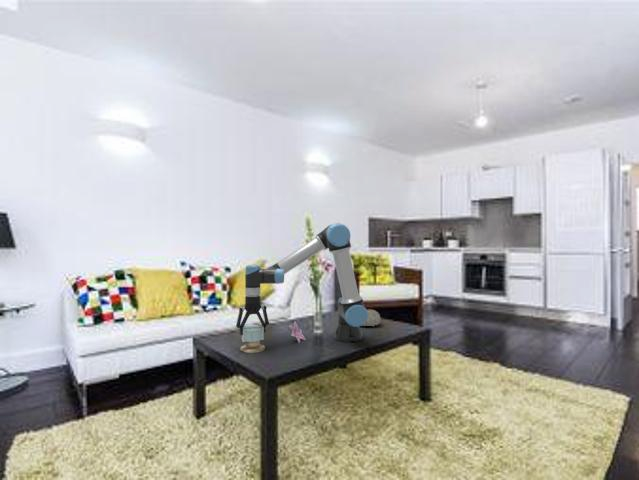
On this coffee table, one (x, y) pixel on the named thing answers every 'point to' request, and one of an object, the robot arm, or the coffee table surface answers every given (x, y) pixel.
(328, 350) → the coffee table surface
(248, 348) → the stud pedestal
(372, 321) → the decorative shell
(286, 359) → the coffee table surface
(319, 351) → the coffee table surface
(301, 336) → the lily
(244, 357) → the coffee table surface
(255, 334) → the cap
